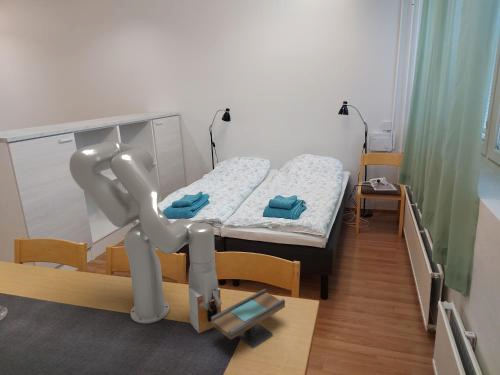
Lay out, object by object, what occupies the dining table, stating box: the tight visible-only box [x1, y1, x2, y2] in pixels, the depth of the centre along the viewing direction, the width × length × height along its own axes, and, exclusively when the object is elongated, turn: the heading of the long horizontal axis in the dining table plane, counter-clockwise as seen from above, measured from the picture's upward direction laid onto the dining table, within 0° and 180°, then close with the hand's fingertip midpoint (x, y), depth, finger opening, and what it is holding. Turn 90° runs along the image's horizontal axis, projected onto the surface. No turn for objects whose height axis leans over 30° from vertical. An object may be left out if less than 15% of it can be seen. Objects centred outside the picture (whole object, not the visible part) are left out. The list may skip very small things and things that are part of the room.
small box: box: [188, 287, 222, 334], centre depth 114 cm, size 8×6×13 cm
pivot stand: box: [236, 322, 274, 349], centre depth 111 cm, size 12×8×6 cm, turn 42°
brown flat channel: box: [211, 288, 286, 340], centre depth 110 cm, size 9×22×2 cm, turn 132°
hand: (205, 313), depth 115 cm, fingers closed on small box, 6 cm apart
